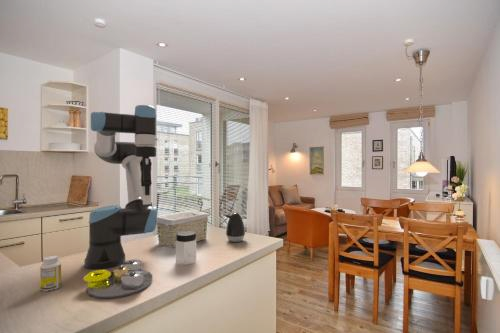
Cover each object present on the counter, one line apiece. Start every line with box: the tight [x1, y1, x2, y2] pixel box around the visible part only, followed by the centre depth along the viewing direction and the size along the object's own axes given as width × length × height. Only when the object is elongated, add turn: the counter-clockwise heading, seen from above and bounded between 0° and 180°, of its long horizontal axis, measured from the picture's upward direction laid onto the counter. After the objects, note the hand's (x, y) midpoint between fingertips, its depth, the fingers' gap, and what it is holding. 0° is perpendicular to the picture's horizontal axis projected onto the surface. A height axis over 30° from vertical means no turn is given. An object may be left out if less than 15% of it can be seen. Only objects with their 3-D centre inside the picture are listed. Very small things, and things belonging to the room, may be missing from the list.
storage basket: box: [156, 209, 209, 249], centre depth 146 cm, size 24×16×15 cm
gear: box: [83, 268, 112, 288], centre depth 90 cm, size 8×4×8 cm
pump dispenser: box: [225, 212, 246, 243], centre depth 146 cm, size 10×10×15 cm
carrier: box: [86, 259, 153, 300], centre depth 93 cm, size 20×20×6 cm
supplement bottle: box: [39, 255, 62, 292], centre depth 90 cm, size 6×6×10 cm
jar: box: [175, 231, 197, 266], centre depth 115 cm, size 9×8×12 cm
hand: (145, 202), depth 104 cm, fingers open, 13 cm apart
